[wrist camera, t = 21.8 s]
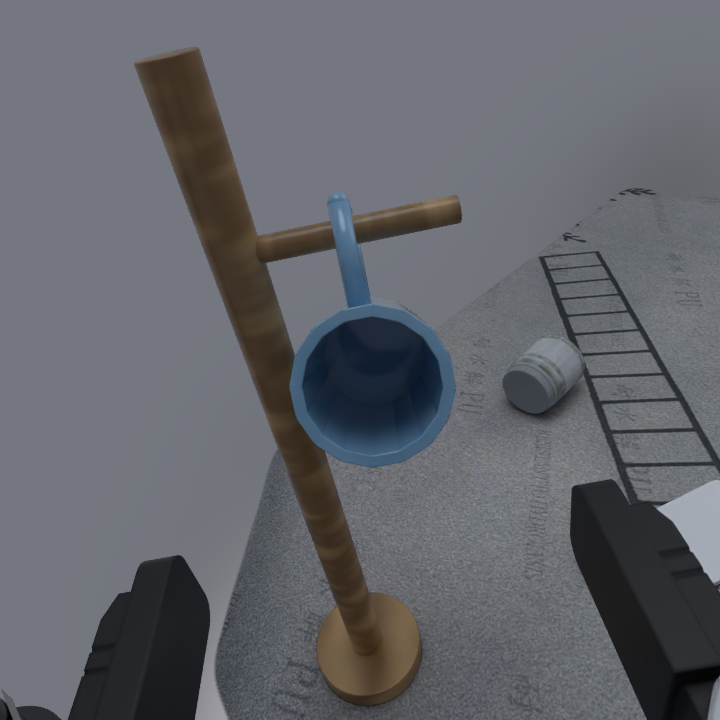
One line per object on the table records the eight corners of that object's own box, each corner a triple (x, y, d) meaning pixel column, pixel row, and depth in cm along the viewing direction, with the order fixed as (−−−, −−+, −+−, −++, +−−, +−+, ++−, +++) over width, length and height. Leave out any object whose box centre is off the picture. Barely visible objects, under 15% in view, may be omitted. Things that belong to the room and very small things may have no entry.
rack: (321, 714, 41) (12, 98, 17) (320, 611, 48) (96, 64, 24) (512, 683, 40) (462, -5, 17) (485, 583, 47) (421, -11, 23)
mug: (440, 398, 32) (467, 450, 22) (330, 419, 33) (309, 479, 23) (404, 203, 31) (416, 165, 21) (290, 226, 31) (248, 201, 21)
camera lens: (548, 426, 61) (584, 386, 65) (554, 382, 57) (592, 343, 61) (498, 400, 64) (535, 365, 68) (500, 358, 60) (540, 323, 64)
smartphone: (576, 548, 47) (718, 476, 50) (575, 553, 47) (717, 482, 50) (642, 623, 41) (800, 536, 44) (641, 628, 42) (798, 542, 44)
